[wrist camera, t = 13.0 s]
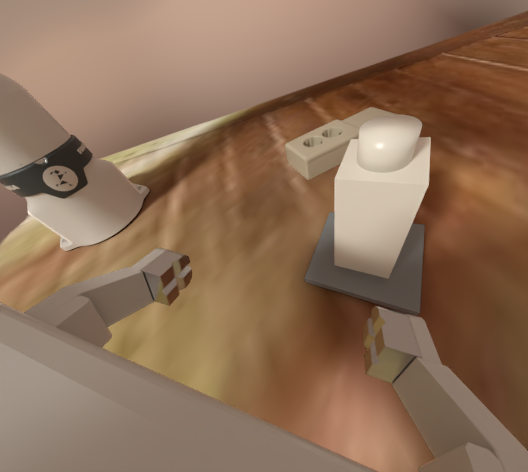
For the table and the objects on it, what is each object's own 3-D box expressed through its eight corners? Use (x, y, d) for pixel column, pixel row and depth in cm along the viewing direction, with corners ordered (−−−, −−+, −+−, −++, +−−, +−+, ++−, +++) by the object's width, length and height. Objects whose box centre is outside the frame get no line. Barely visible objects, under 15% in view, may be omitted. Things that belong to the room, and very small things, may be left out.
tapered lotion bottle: (334, 265, 22) (334, 150, 12) (345, 230, 24) (352, 111, 14) (388, 278, 19) (443, 150, 10) (394, 238, 22) (442, 104, 12)
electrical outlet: (405, 110, 32) (305, 159, 30) (399, 135, 35) (308, 181, 33) (371, 101, 37) (283, 143, 35) (368, 124, 40) (287, 164, 38)
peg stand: (305, 281, 22) (295, 237, 16) (329, 216, 27) (328, 164, 21) (416, 316, 18) (458, 271, 12) (422, 229, 22) (453, 168, 17)
